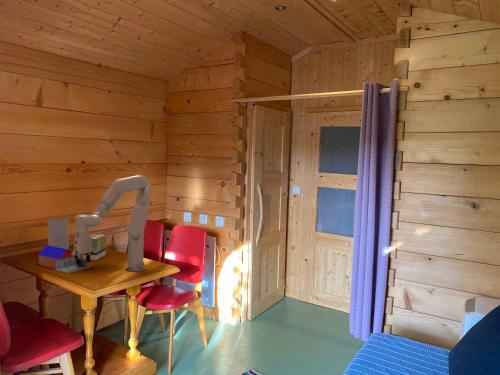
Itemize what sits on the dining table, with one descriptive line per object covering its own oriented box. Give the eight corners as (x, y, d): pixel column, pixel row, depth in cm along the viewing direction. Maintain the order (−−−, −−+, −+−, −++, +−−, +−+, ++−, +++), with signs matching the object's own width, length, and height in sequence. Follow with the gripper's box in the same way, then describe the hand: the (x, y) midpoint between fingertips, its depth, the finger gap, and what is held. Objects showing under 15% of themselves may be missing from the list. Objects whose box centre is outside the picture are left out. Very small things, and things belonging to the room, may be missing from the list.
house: (55, 261, 256) (55, 243, 256) (75, 265, 247) (75, 247, 246) (37, 265, 246) (37, 246, 245) (58, 270, 236) (58, 251, 236)
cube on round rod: (89, 266, 241) (89, 260, 241) (84, 268, 237) (84, 261, 237) (78, 264, 246) (78, 258, 246) (72, 265, 242) (72, 259, 242)
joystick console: (90, 267, 244) (90, 258, 243) (67, 273, 230) (67, 264, 229) (78, 264, 249) (78, 256, 248) (55, 270, 235) (55, 261, 234)
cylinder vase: (48, 254, 273) (48, 218, 272) (67, 252, 279) (67, 217, 277) (48, 258, 262) (48, 221, 261) (69, 256, 268) (69, 220, 266)
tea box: (97, 260, 260) (97, 238, 259) (82, 260, 261) (82, 238, 260) (106, 255, 275) (106, 234, 274) (91, 254, 276) (91, 233, 275)
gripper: (74, 237, 231) (75, 267, 232) (98, 232, 246) (99, 261, 247) (65, 236, 234) (66, 266, 236) (90, 231, 249) (91, 259, 251)
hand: (83, 263), depth 241 cm, fingers open, 6 cm apart
